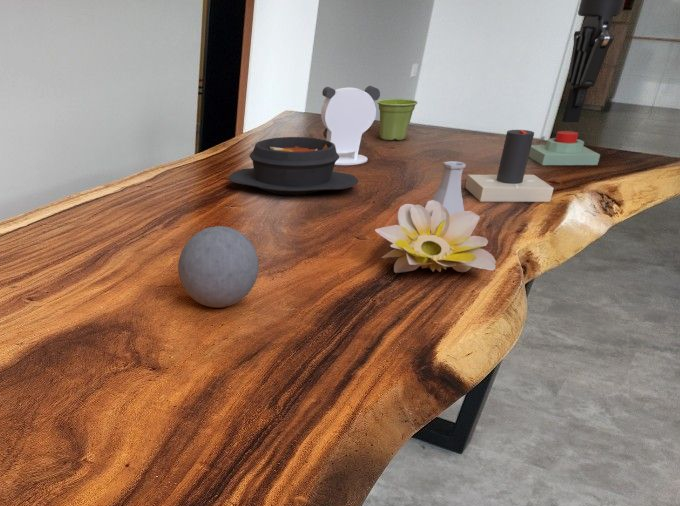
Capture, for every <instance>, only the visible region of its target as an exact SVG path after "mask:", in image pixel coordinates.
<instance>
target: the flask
mask: <svg viewBox="0 0 680 506" xmlns="http://www.w3.org/2000/svg"><path fill="white" fill-rule="evenodd" d="M442 166H443V174H442V177H441V180H440V182H439V185H438V187H437V189H436V190H435V192H434V194H433V196H432V198H431V200H434V201H437V202H439V203H440V204H441V205H442V207H445V208H446V209H447V211H448V213H449V216H451V215H452V214H454V213H458V212H461V211H465V206H464V200H463V193H462V176H463V170H464V169H465V168H466V166H467V164H466V163H465V162H463V161H462V162H461V161H456V160H454V161H453V160H450V161H443V162H442Z"/></svg>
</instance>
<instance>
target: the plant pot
mask: <svg viewBox="0 0 680 506" xmlns="http://www.w3.org/2000/svg"><path fill="white" fill-rule="evenodd" d="M418 102H419V101H417V100H414V99H407V98H388V99H378V100H377V104H378V110H379V138H380V139H381V140H386V141H394V140H397V141H402V140H405V139H406V137H407V133H408V129H409V126H410V123H411V119H412V115H413V112H414V110H415V108H416V105H417V104H418Z"/></svg>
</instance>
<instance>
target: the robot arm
mask: <svg viewBox="0 0 680 506" xmlns="http://www.w3.org/2000/svg"><path fill="white" fill-rule="evenodd" d="M625 2H626V0H580V3H579V7H578V10H577V15H578V16H579V17H585V18H584V20H583V23H582V24H581V25H582V26H581V28H580V30H576V31H574V33H573V46H572V51H571V58H570V64H569V70H568V75H567V83H569V87H570V89H569V93H568V96H567V97H568V98H567V101H566V104H565V108H564V112H563V116H562V120H561V122H563V123H579V122H580V118H581V114H582V110H583V108H584V107H583V106H584V103H585V100H586V96H587V93H588V90H589V89H590V88H592V87H594V86H595V85H596V83H597V80H598V78H599V74H600V72H601V69H602V66H603V64H604V61H605V59H606V56H607V53H608V51H609V48H610V47H611V45H612V43H613V41H614V39H615V35H614V34H609V33H610V30H611V22H612V18H613V17H619V16H620V15H621V14H622V12H623V10H624V6H625Z"/></svg>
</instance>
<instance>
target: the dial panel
mask: <svg viewBox="0 0 680 506" xmlns="http://www.w3.org/2000/svg"><path fill="white" fill-rule="evenodd" d="M497 175H498V174H467V177H466V182H465V186H464V187H465V189H466V190H467V191H468V192H469V193H470V194H471V195H472V196H473V197H475V198H476V200H478V201H479V202H483V203H484V202H485V203H486V202H489V203H491V202H492V203H493V202H494V203H551V200H552V196H553V192H554V189H555V188H554V187H553V186H552V185H550V184H549V183H547V182H545V181H544V180H543V179H541V178H539V176H537V175H535V174H524V178H523V182H521V183H514V184H512V183H503V182H499V181H497V180H496V179H497Z"/></svg>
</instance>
